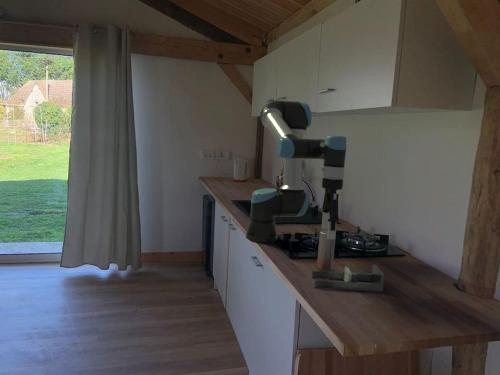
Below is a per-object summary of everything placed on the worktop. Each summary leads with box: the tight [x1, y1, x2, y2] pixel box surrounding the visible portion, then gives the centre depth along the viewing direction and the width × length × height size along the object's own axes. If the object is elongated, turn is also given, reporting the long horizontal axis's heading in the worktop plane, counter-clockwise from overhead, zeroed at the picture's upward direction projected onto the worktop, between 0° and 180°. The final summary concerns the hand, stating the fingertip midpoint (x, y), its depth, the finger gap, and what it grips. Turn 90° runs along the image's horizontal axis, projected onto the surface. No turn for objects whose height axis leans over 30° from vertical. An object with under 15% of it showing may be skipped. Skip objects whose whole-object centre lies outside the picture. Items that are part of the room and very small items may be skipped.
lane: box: [310, 264, 386, 293], centre depth 141 cm, size 10×23×6 cm, turn 89°
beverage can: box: [316, 230, 336, 271], centre depth 152 cm, size 6×6×15 cm
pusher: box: [342, 265, 358, 282], centre depth 141 cm, size 7×3×5 cm, turn 179°
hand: (328, 233), depth 151 cm, fingers open, 13 cm apart
